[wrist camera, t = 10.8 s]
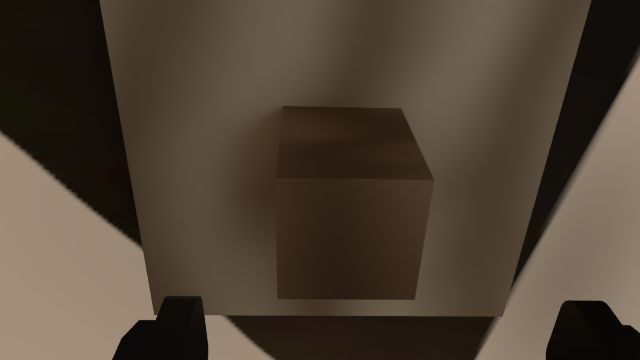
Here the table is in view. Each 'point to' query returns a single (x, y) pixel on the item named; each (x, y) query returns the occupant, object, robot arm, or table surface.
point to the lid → (338, 147)
